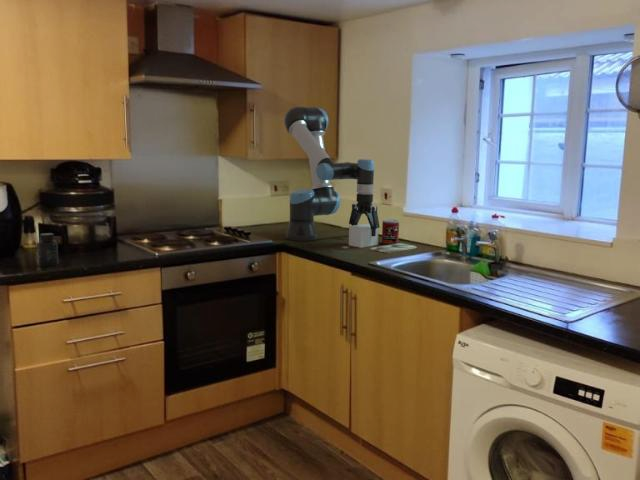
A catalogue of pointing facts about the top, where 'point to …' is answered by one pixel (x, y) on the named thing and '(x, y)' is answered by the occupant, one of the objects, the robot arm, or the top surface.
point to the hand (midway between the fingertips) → (363, 241)
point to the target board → (393, 248)
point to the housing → (361, 236)
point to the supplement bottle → (47, 250)
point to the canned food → (390, 231)
